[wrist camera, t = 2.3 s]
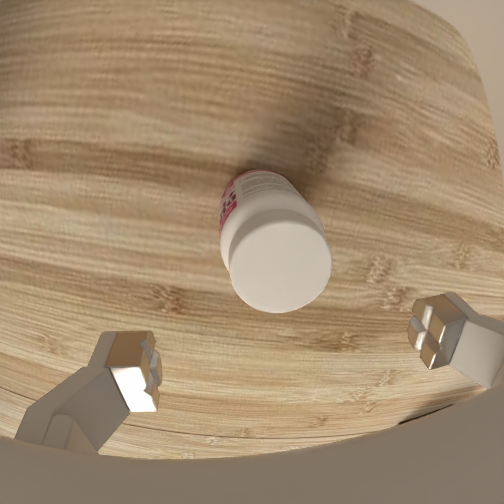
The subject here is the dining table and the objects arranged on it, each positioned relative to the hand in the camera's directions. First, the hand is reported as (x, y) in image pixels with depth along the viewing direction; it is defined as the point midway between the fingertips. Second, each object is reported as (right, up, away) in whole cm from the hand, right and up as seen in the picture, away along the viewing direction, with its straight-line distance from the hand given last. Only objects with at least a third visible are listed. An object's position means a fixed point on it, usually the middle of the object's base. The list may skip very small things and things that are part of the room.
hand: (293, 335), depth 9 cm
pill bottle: (-1, +5, +11) cm, 12 cm away
